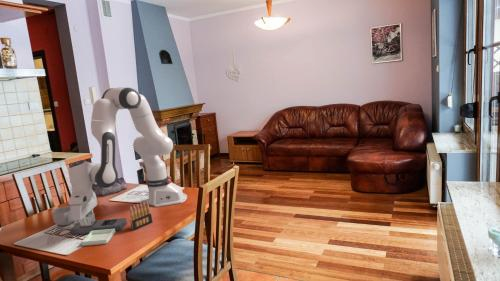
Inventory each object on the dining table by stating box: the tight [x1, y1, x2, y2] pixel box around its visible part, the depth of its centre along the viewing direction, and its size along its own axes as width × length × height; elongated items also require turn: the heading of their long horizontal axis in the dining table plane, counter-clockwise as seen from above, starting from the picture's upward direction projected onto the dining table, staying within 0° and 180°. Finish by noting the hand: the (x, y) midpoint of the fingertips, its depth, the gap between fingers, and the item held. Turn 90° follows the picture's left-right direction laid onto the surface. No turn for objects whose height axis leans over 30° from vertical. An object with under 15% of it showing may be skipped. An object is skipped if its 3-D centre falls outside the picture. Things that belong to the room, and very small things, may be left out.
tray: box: [80, 229, 116, 247], centre depth 154 cm, size 11×11×2 cm
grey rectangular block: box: [79, 211, 97, 228], centre depth 164 cm, size 5×5×9 cm
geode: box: [92, 176, 127, 197], centre depth 220 cm, size 20×12×10 cm, turn 135°
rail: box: [69, 217, 128, 236], centre depth 165 cm, size 24×8×3 cm, turn 93°
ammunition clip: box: [129, 200, 153, 231], centre depth 164 cm, size 11×2×12 cm, turn 139°
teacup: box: [51, 205, 74, 227], centre depth 173 cm, size 14×11×8 cm
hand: (87, 221), depth 164 cm, fingers closed on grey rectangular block, 5 cm apart
